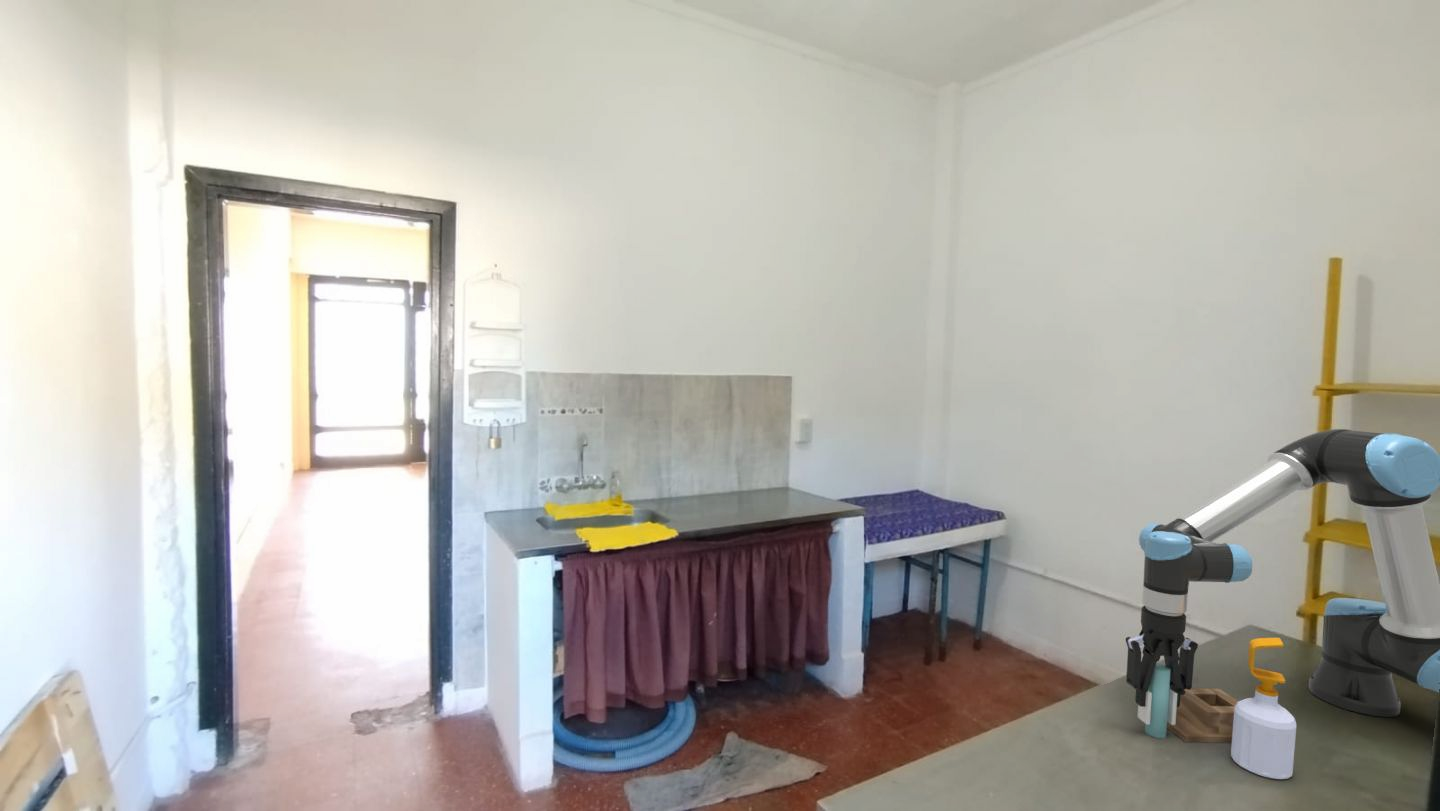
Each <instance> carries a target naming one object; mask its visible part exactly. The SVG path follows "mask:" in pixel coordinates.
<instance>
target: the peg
mask: <svg viewBox="0 0 1440 811" xmlns="http://www.w3.org/2000/svg"><path fill="white" fill-rule="evenodd" d="M1170 670H1171V669H1170V668H1169V667H1167V666H1165V664H1162V663H1158V662H1157V663H1156V666H1155V669H1154V673H1153V676H1152V679H1151V682H1150V686H1149V689H1148V691H1150V692H1151V693H1152V700H1151V715H1150V724H1145V723H1144V724H1145V725H1144V732H1145V733H1146V734H1147V735H1148V736H1150V737H1152V738H1156V739H1162V740H1163V739H1166V737H1167V730H1168V728H1167V715H1168V700H1169V688H1170V686H1169V685H1170Z"/></svg>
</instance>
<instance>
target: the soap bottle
mask: <svg viewBox="0 0 1440 811" xmlns="http://www.w3.org/2000/svg"><path fill="white" fill-rule="evenodd" d="M1248 643H1249V644H1248V655H1247V664H1248V665H1247V666H1248V667H1249V670H1250V673H1251V675H1252V676H1253V677H1255V678H1257V679H1258V681H1260V682H1261V685H1260V684H1259V685H1256V686H1255V692H1254V696H1252V697H1247V698H1245V699H1241V700H1238V701H1239V702H1237V704H1236V705H1235V708H1234V720H1233V734H1232V743H1231V746H1230V747H1231V749H1230V757H1231V758H1232V759H1233V762H1235V764H1238V766H1240V767H1241V768H1243V769H1245V770H1246V771H1249V772H1251V773H1253V774H1255V775H1258V776H1261V777H1265V778H1269V779H1273V780H1287V779H1290V778H1291V777H1292V776H1293V773H1294V772H1293V771H1294V770H1293V769H1294V762H1295V760H1294V759H1295V747H1296V735H1297V722H1296V718H1295V717H1294V716H1293V714H1291V713H1290V712H1289V711H1288V710H1287V709H1286V708H1285V707H1283V706H1281V705H1280V704H1279V701H1278V699H1279V691H1278V690H1277V689H1275V688H1274V685H1278V683H1280V684H1285V683H1286V680H1285V677H1284V675H1283V674H1282V673H1279V672H1275V671H1272V670H1271V671H1270V670H1266V669H1262V668H1257V667H1254V666H1255V655H1256V652H1257V650H1259V649H1268V648H1269V649H1270V648H1282V647H1284V643H1283V641H1282V639H1281V638H1280V637H1261V638H1260V637H1259V638H1258V637H1257V638H1253V639H1251V640H1250V641H1249V642H1248Z"/></svg>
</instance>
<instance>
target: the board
mask: <svg viewBox="0 0 1440 811" xmlns="http://www.w3.org/2000/svg"><path fill="white" fill-rule="evenodd" d="M1184 691H1185V694H1184V695H1181V696H1180V705H1179V707H1177V708H1176V722H1175V725H1171V724H1170V723H1169V722H1168V721H1167V730H1169V731H1171V733H1173V734H1175V735H1176V736H1177V737H1178V738H1179V739H1180V740H1182V741H1183V742H1184V743H1216V744H1217V743H1222V744H1224V743H1226V744H1227V743H1229V744H1230V743H1231V744H1232V734H1233V720H1234V708H1235V705H1236V704H1237V702H1239V701H1240V700H1238V699H1236V698H1234V697H1233V696H1231V695H1230V694H1228V693H1227V692H1225V691H1223V690H1221V689H1220V688H1210V687H1209V688H1207V687H1206V688H1205V687H1204V688H1203V687H1200V688H1199V687H1192V688H1191V689H1190V690H1187V689H1185V690H1184Z"/></svg>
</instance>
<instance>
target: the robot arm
mask: <svg viewBox="0 0 1440 811" xmlns="http://www.w3.org/2000/svg"><path fill="white" fill-rule="evenodd" d="M1324 483H1325V484H1326V483H1335V484H1340V485H1344V486H1347V489H1348V494H1349V499H1350V501H1351V502H1352V504H1354V505H1357V506H1358V507H1360V508H1362V511H1363V516H1364V519H1365V523H1366V528H1367V531H1368V532H1367V533H1368V537H1369V541H1370V545H1371V550H1372V554H1373V559H1374V562H1375V567H1376V570H1377V576H1378V580H1379V584H1380V587H1381V592H1382V596H1383V600H1384V602H1381V601H1376V600H1370V599H1369V600H1368V599H1361V598H1354V597H1353V598H1351V597H1335V598H1331V599H1329V600H1328V601H1327V602H1326V605H1325V610H1324V613H1323V626H1322V627H1323V628H1322V645H1321V657H1320V660H1319V662H1318V663H1317V665H1316V667H1315V669H1314V671H1313V674H1312V675H1310V677H1309V680H1308V681H1309V682H1308V691H1309V692H1310V693H1311V694H1312V695H1314V696H1315V697H1317V698H1318V699H1320V700H1322V701H1324V702H1326V703H1328V704H1331V705H1333V706H1336V707H1337V708H1338V707H1339V708H1341V709H1345V710H1348V711H1350V712H1355V713H1359V714H1363V715H1367V716H1374V717H1380V718H1381V717H1384V718H1387V717H1388V718H1390V717H1397V716H1399V715H1400V714H1401V707H1402V706H1401V700H1400V698H1399V696H1398V694H1397V689H1396V686H1395V682H1394V678H1393V674H1394V675H1396V676H1398V677H1400V678H1403V679H1406V680H1407V681H1410V682H1412V683H1414V684H1416V685H1418V686H1420V687H1421V688H1423V689H1429V690H1432V691H1433V692H1437V693H1439V689H1440V684H1439V683H1440V579H1439V575H1438V570H1437V567H1436V561H1435V556H1434V553H1433V548H1432V544H1431V540H1430V534H1429V531H1428V527H1427V522H1426V519H1425V517H1426V516H1425V513H1424V510H1423V509H1424V508H1423V506H1424V505H1425V504H1427V503H1428V502H1429V501H1431V499H1432V494H1433V493H1434V492H1435V491H1436V490H1437V489H1438V488H1439V487H1440V455H1439V454H1438V451H1436V449H1435V448H1434V447H1432V445H1430V444H1429V443H1427V442H1425V441H1423V440H1421V439H1419V438H1416V437H1412V436H1405V435H1403V434H1399V433H1393V432H1392V433H1384V432H1383V433H1382V432H1381V433H1380V432H1373V431H1372V432H1371V431H1363V430H1361V431H1360V430H1352V429H1346V428H1335V429H1327V430H1322V431H1318V432H1315V433H1311V434H1309V435H1305V436H1304V437H1301V438H1299V439H1297V440H1295V441H1292V442H1291V443H1288V444H1287V445H1285V446H1283V447H1282V448H1280V449H1278V450H1276V451H1274V452H1273V453H1271V454H1270V455H1269V456H1268V458H1267V462H1266V463H1265V464H1263V465H1261V466H1259V467H1258V468H1256V469H1255V470H1254V471H1252V472H1250V473H1249V474H1246V476H1244V477H1242V478H1240V479H1239V480H1237V481H1236V482H1234V483H1233V484H1230V485H1229V486H1227V487H1226V488H1224V489H1223V490H1221V491H1219V492H1218V493H1216V494H1214V495H1213V496H1211V497H1209V498H1208V499H1207V500H1205V501H1203V502H1202V503H1200V504H1198V505H1197V506H1195V507H1193V508H1192V509H1190V510H1189V511H1187V512H1185V513H1183V514H1182V515H1181V516H1179V517H1177V518H1176V519H1174V520H1172V521H1171V522H1169V523H1167V524H1166V525H1165V524H1162V523H1151V524H1147V525H1146V526H1145V527H1143V529H1142V530H1141V531H1140V533H1139V537H1138V542H1139V546H1140V549H1141V550H1142V551H1143V553H1144V563H1143V564H1144V565H1143V566H1144V567H1143V585H1142V601H1141V602H1142V603H1141V604H1143V606H1142V607H1141V610H1140V611H1141V613H1140V624H1141V631H1140V632H1139V635H1137V636H1135V637H1133V638H1132V637H1130V636H1127V637H1125V642H1126V646H1127V658H1126V659H1127V661H1126V662H1127V663H1126V683H1127V684H1128V685H1129V686H1131V687H1132V688H1133V689H1135V700H1134V701H1135V704H1137V706H1138V707H1137V718H1138V719H1139V720H1140V721H1142V722H1143V723H1144V724H1150V715H1151V700H1152V693H1151V692H1150V691H1148V689H1149V686H1150V682H1151V679H1152V676H1153V673H1154V669H1155V666H1156V663H1158V662H1159V661H1160V660H1161V657H1163V658H1164V659H1163V660H1164V665H1165V666H1167V667H1169V668H1170V669H1171V670H1170V685H1169V700H1168V715H1167V721H1168V722H1169V723H1170V724H1171V725H1175V722H1176V708H1177V707H1179V705H1180V696H1181V695H1184V694H1185V691H1184V690H1185V689H1187V690H1190V689H1191V688H1193V676H1194V663H1195V662H1194V661H1195V654H1196V651H1197V650H1198V647H1199V644H1198V643H1197V642H1196V641H1194V640H1192V639H1190V638H1188V637H1185V635H1184V634H1185V632H1186V625H1187V623H1186V622H1187V616H1186V614H1185V613H1187V611H1188V597H1189V595H1188V594H1189V586H1190V585H1189V584H1190V582H1194V583H1196V582H1197V583H1198V582H1201V583H1203V582H1204V583H1225V584H1230V583H1237V582H1238V583H1239V582H1244V581H1246V580H1247V579H1249V578H1250V577H1251V575H1252V572H1253V560H1252V557H1251V555H1250V553H1249V552H1248V551H1247V549H1246V548H1244V547H1243V546H1241V545H1239V544H1233V543H1232V544H1231V543H1227V542H1224V543H1216V542H1215V541H1216V540H1217V539H1219V538H1220V537H1222V536H1224V535H1226V534H1227V533H1229V532H1231V531H1232V530H1234V529H1235V528H1238V526H1240V525H1242V524H1244V523H1245V522H1247V521H1249V520H1250V519H1252V518H1253V517H1255V516H1257V515H1259V514H1260V513H1262V512H1263V511H1265V510H1266V509H1269V508H1270V507H1272V506H1273V505H1275V504H1276V503H1278V502H1279V501H1281V500H1283V499H1284V498H1286V497H1288V496H1290V495H1291V494H1293V493H1295V492H1297V491H1307V490H1309V489H1311V488H1313V487H1314V486H1316V485H1319V484H1324ZM1142 645H1144V646H1142ZM1142 649H1143V650H1142Z"/></svg>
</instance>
